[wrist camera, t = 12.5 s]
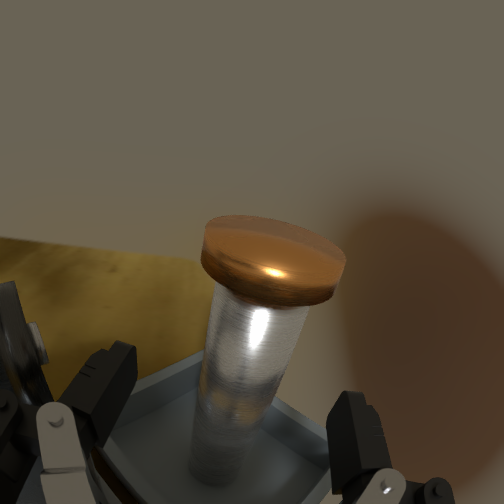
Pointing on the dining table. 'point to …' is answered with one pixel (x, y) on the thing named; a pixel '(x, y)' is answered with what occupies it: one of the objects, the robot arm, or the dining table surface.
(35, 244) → the dining table surface
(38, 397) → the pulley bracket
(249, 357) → the lock pin
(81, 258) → the dining table surface
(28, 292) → the dining table surface
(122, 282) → the dining table surface
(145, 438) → the tray
